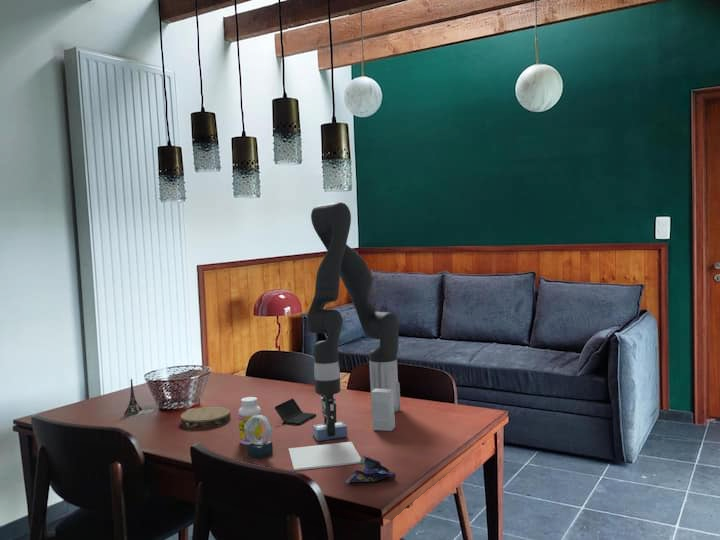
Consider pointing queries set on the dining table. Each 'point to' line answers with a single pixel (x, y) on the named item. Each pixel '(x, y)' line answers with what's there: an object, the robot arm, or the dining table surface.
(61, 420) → the dining table surface
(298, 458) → the mat
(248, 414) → the supplement bottle
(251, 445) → the watch
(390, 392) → the skincare box
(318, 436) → the card deck
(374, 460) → the snack package
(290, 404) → the handheld gaming console
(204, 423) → the beige round flat disc
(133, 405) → the eiffel tower figurine
